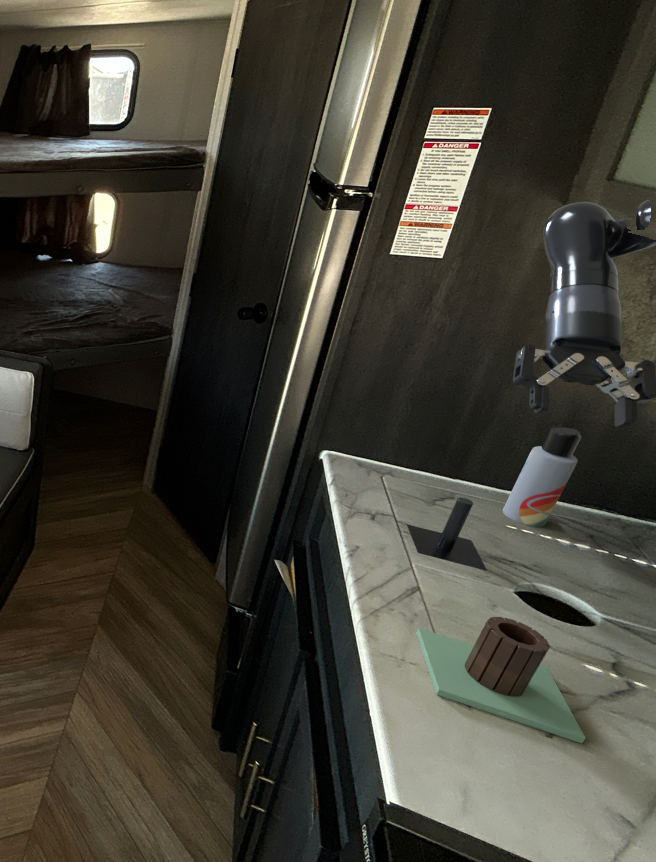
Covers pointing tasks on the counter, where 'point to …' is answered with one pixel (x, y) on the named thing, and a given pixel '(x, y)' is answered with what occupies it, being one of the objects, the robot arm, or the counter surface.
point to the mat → (532, 708)
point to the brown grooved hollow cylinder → (506, 656)
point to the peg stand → (449, 539)
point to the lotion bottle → (543, 478)
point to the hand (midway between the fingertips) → (581, 418)
